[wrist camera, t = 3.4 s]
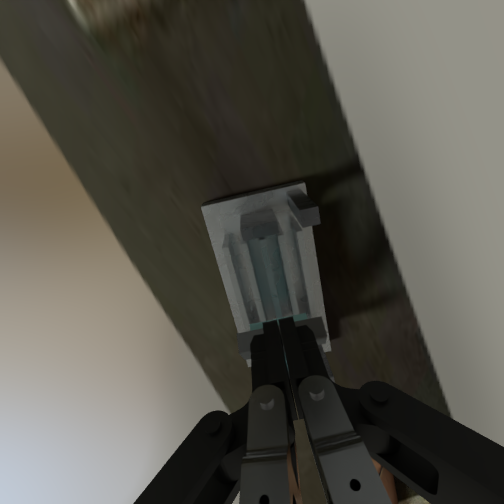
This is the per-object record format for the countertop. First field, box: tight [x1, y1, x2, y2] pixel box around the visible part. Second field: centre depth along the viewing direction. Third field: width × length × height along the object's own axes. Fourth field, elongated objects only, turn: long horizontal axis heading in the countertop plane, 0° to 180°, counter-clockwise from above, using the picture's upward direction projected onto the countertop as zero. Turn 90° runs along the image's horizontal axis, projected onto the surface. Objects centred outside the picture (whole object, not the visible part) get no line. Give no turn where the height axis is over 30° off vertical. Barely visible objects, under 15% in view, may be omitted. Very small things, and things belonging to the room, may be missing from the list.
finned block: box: [201, 180, 335, 383], centre depth 26 cm, size 18×9×8 cm, turn 13°
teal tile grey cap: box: [237, 313, 327, 377], centre depth 21 cm, size 14×4×2 cm
